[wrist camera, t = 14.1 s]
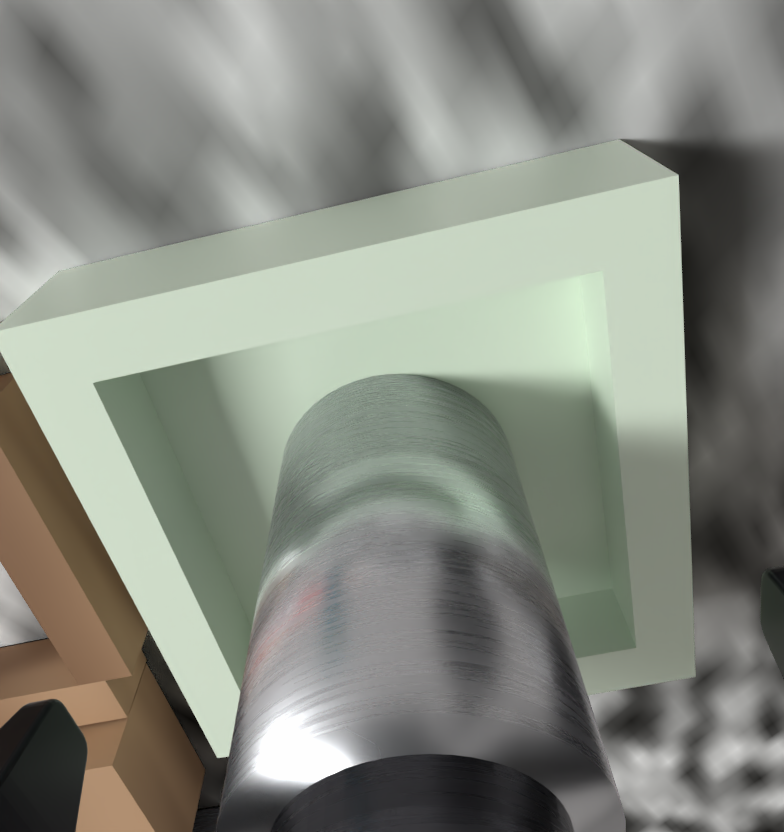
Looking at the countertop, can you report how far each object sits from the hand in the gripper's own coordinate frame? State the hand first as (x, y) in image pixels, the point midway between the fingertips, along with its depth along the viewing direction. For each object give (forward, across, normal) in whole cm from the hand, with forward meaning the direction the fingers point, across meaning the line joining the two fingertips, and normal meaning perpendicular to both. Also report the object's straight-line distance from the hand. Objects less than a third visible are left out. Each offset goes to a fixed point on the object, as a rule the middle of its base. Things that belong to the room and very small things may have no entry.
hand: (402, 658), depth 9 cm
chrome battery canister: (+4, 0, 0) cm, 4 cm away
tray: (+5, 0, 0) cm, 5 cm away
